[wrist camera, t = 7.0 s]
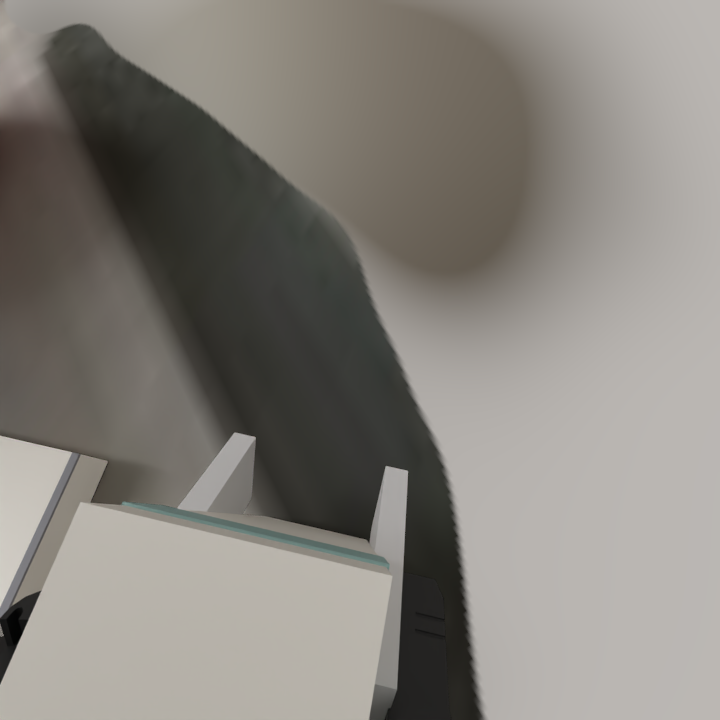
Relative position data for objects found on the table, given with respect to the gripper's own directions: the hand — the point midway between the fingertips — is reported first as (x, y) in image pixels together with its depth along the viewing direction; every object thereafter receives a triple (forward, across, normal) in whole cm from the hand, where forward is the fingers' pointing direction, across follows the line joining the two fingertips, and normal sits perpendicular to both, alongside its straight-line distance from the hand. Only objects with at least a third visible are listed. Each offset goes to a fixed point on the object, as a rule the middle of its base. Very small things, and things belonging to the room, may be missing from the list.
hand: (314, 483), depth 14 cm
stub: (0, 0, -6) cm, 6 cm away
